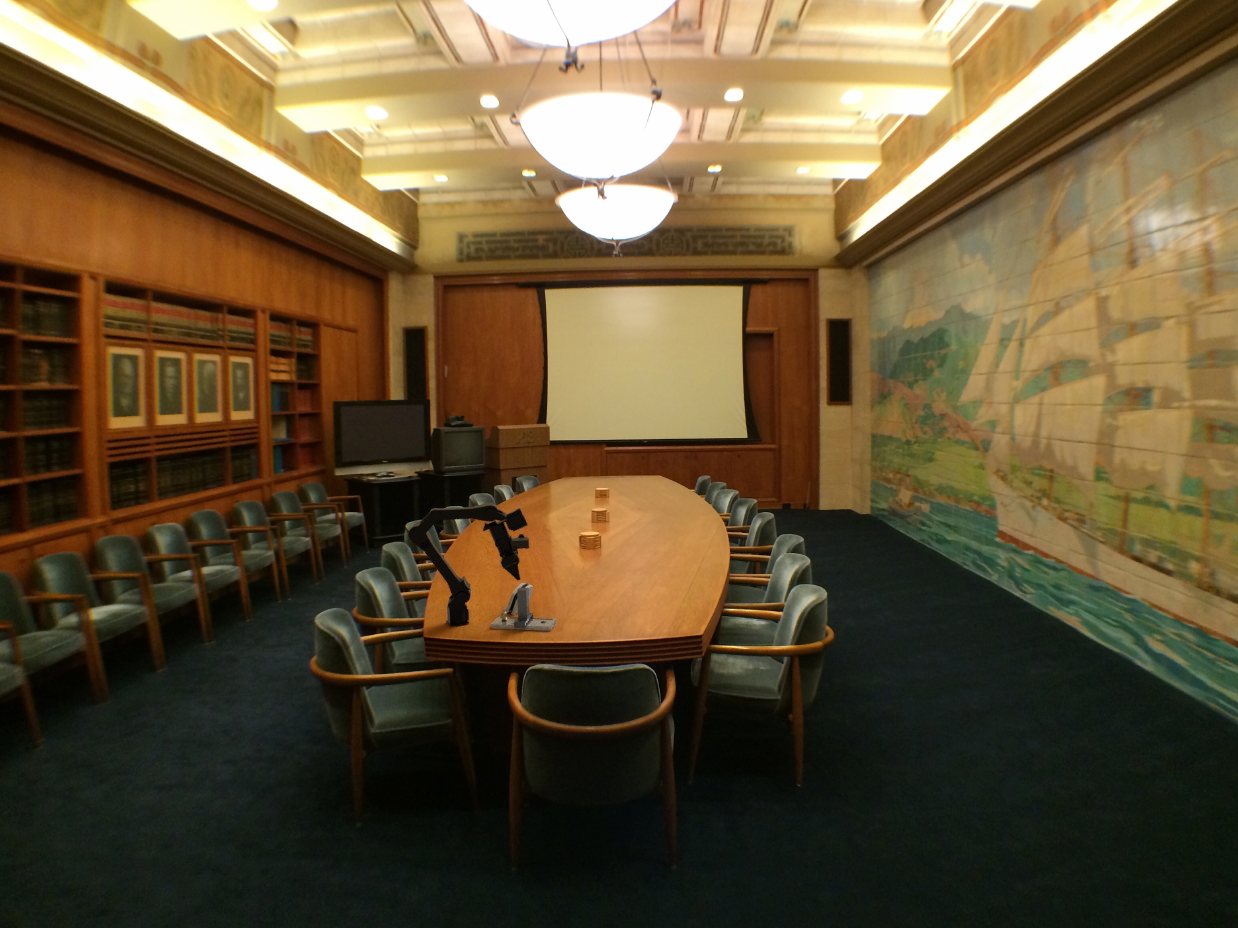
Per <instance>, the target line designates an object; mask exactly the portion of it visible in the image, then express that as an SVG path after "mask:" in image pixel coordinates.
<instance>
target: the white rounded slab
mask: <svg viewBox="0 0 1238 928" xmlns="http://www.w3.org/2000/svg"><path fill="white" fill-rule="evenodd" d="M519 588H529V602H530V601H531V598H532V594H533V590H534V586H533V585H532V584H528V583H527V582H522V583H520V584H518V586H517V587H516V588H515V589H514V590H513V592H511V593H512V594H511V595H510V598H509V601H508V603H507V606H506V607H504V608H503V609H502V612H506V613H510V614H511V615H513V616H515V615H516V614H518V601H517V590H518V589H519ZM502 612H501V613H502Z"/></svg>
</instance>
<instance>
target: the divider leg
mask: <svg viewBox="0 0 1238 928" xmlns="http://www.w3.org/2000/svg"><path fill="white" fill-rule="evenodd" d="M517 601H518V612H517V617H518V618H517V619H516V620H515V621H514V628H526V623H527V622H528V620H529V619H530V618H534V612H530V601H529V588H519V589H518V590H517Z"/></svg>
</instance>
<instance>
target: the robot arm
mask: <svg viewBox="0 0 1238 928" xmlns="http://www.w3.org/2000/svg"><path fill="white" fill-rule="evenodd" d="M454 520H456V521H457V520H476V521H481V522H484V525H483V527H482V531H483V532H485V531H488V530H489V534H490V536H491V538H492V540H493V542H494V546H495V548H496V549H497V551H498V553H499V557H500V558H501V559H500V565H501V566H502V569H504V570H505V571H507V572H508V574H509V575H511V576H512V577H513V578H514V579H515V580H517V581H520V580H521V575H520V568H519V564H520V561H521V560H520V557H519V555H518V554H519V549H525V550H528V549H530V537H527V536H525V535H524V533H519V534H518V536H517V537H515V538H512V535H510V533H509V531H512V532H516V531H518V530H520V529H523V528H525V527H528V525H529V524H528V522H527V519H526V517H525V515H524V514H523V512H522V510H521V508H520V507H518V508H516V509H514V510H513V511H511V512H508V513H506V512H504V511H502V510H500V509H499V508H498V505H496V504H495V503H493V502H486V503H481V504H478V505H475V506H467V507H466V506H465V507H445V508H444V507H443V508H437V507H434V508H432V509H431V510H430V511H429V512H428V513H427V514H426V515H425V516H424V517H423V518H422V519H421V520H420V521H419V522H415V523H414V524H412V525H411V526H410V529H409V531H408V536H407V537H408V539H409V540H410V542H412V543H413V544H414V546H416V547H418V548H419V549H420V550H422V551H423V552H424V553H425V555H426V556H427V557H428V559H429V560H430V562H431V563H432V564H433V566H434V567H435V569H437V571H438V572H439V574H440V575H441V577H442V578H443V580H444V581H445V582H446V583H447V586H448V589H449V592H450V596H449V597H448V601H447V606H446V613H447V619H446V621H445V622H446V624H448V625H449V626H450V627H451V628H452V627H459V626H464V625H469V624H470V610H469V608H468V606H467V604H466V603H468V602H469V601H470V600H471V596H472V595H471V593H472V592H471V591H472V588H471V587H472V586H471V583H469V582H468V580H467V579H466V577H465V576H462V577H460V576H458V574H456V572H455V571H454V569H453V568H452V567H451V565H450V564H449V563H448V561H447V560H446V558H445V557H444V555H443V554H442V553H441V552H440V550H439V549H438V548H437V546H436V545H435V544H434V541H433V538H432V536H431V533H430V531H429V530H430V529H431V528H432V527H433V526H435V524H436V523H437V521H454ZM507 529H508V530H509V531H508V530H507Z"/></svg>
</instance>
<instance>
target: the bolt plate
mask: <svg viewBox="0 0 1238 928" xmlns="http://www.w3.org/2000/svg"><path fill="white" fill-rule="evenodd" d="M507 614H508V613H507V612H501V616H497V617H496V619H494V620H493V621H492V622H491V624H490V629H494V630H496V629H497V630H518V631H519V630H521V631H522V630H523V631H544V632H549V631H550V632H552V630H553V628H554V627H555V626H556V624H557V618H547V617H546V618H545V617H533V618H530V619H529V620H528V622H527V623H526V628H514V621H515V620H516V619H517V618H518V616H516V617H513V616H507Z"/></svg>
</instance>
